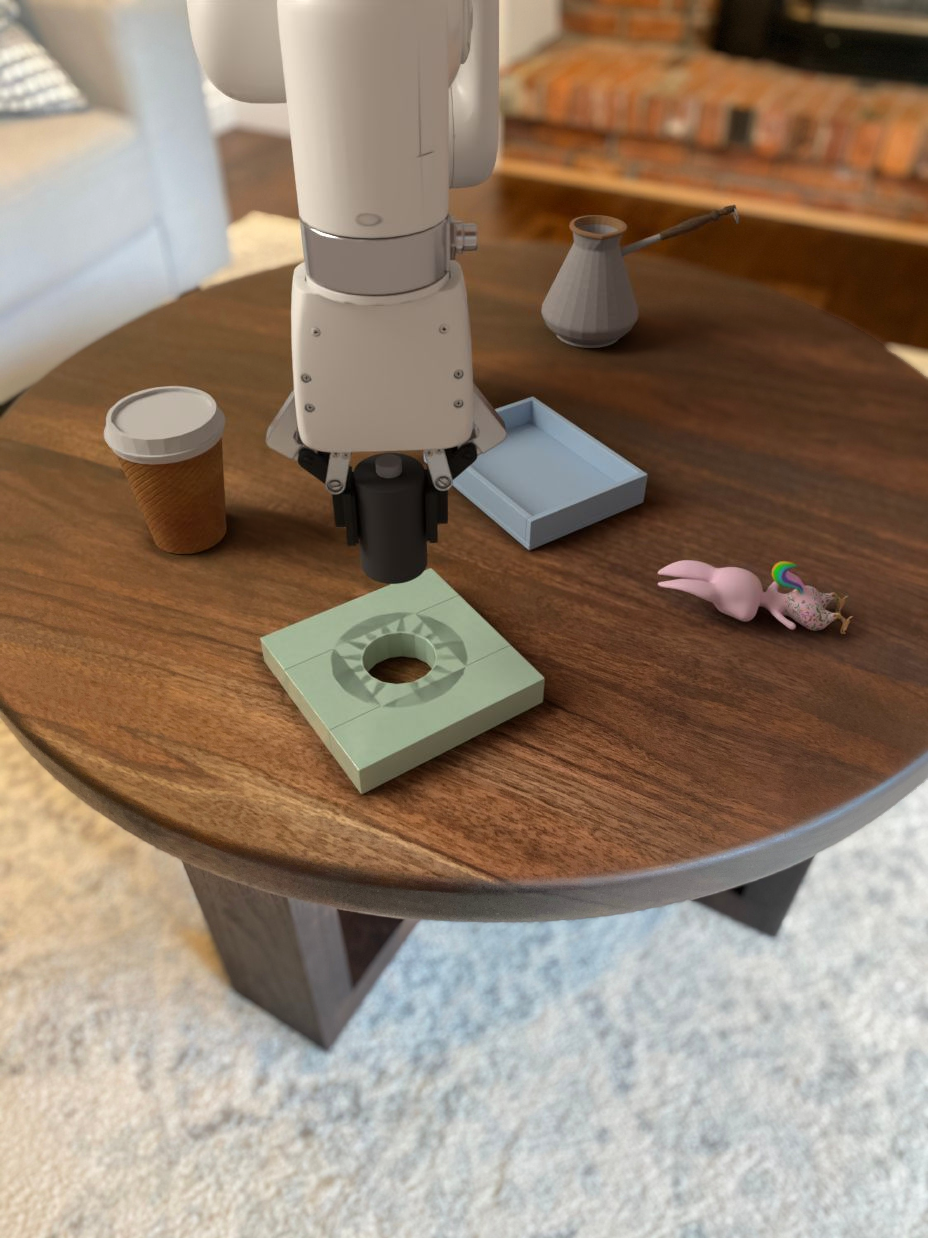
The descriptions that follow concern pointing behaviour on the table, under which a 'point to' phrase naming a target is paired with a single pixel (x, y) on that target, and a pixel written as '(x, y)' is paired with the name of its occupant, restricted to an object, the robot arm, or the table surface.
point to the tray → (548, 477)
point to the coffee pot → (602, 280)
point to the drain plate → (408, 712)
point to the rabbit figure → (755, 593)
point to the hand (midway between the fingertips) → (392, 529)
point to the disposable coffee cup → (173, 463)
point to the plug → (391, 517)
